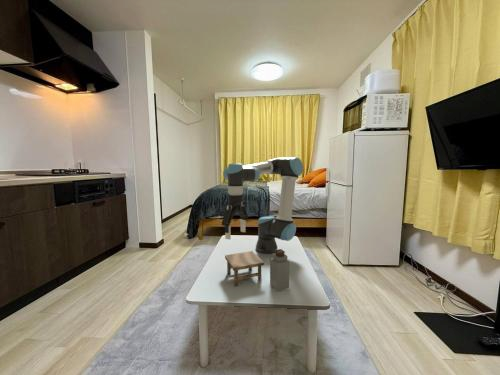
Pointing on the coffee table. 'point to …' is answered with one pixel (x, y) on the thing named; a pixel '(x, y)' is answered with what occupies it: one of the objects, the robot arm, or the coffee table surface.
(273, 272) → the perfume bottle
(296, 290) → the coffee table surface
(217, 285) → the coffee table surface
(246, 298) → the coffee table surface
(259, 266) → the stool
